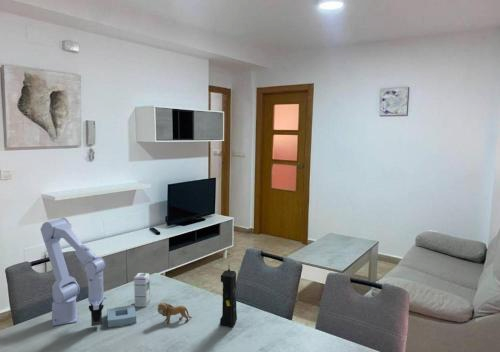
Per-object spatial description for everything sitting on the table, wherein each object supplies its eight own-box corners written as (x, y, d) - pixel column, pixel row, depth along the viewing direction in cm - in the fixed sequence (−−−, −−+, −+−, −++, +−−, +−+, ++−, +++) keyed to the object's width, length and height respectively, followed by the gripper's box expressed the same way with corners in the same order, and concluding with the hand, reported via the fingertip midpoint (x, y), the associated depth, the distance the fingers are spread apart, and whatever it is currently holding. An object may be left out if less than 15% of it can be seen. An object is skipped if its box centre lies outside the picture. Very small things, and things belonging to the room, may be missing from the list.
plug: (91, 326, 158) (91, 312, 157) (91, 321, 162) (91, 308, 161) (101, 324, 159) (101, 310, 159) (101, 320, 163) (101, 306, 162)
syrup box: (146, 307, 180) (146, 277, 178) (134, 306, 180) (133, 276, 178) (150, 301, 186) (150, 272, 184) (138, 301, 186) (137, 272, 184)
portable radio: (233, 329, 162) (234, 272, 159) (219, 327, 163) (220, 270, 160) (237, 320, 169) (238, 265, 166) (224, 318, 170) (225, 264, 167)
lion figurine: (158, 326, 163) (158, 306, 161) (157, 320, 168) (156, 301, 166) (192, 321, 167) (192, 301, 166) (190, 315, 172) (190, 296, 171)
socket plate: (107, 327, 161) (107, 320, 160) (107, 315, 171) (107, 308, 171) (136, 323, 165) (136, 316, 164) (134, 311, 175) (134, 305, 175)
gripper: (106, 293, 153) (107, 325, 155) (106, 279, 167) (106, 309, 168) (87, 295, 151) (88, 328, 152) (88, 281, 164) (89, 311, 166)
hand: (96, 318), depth 160 cm, fingers closed on plug, 4 cm apart
